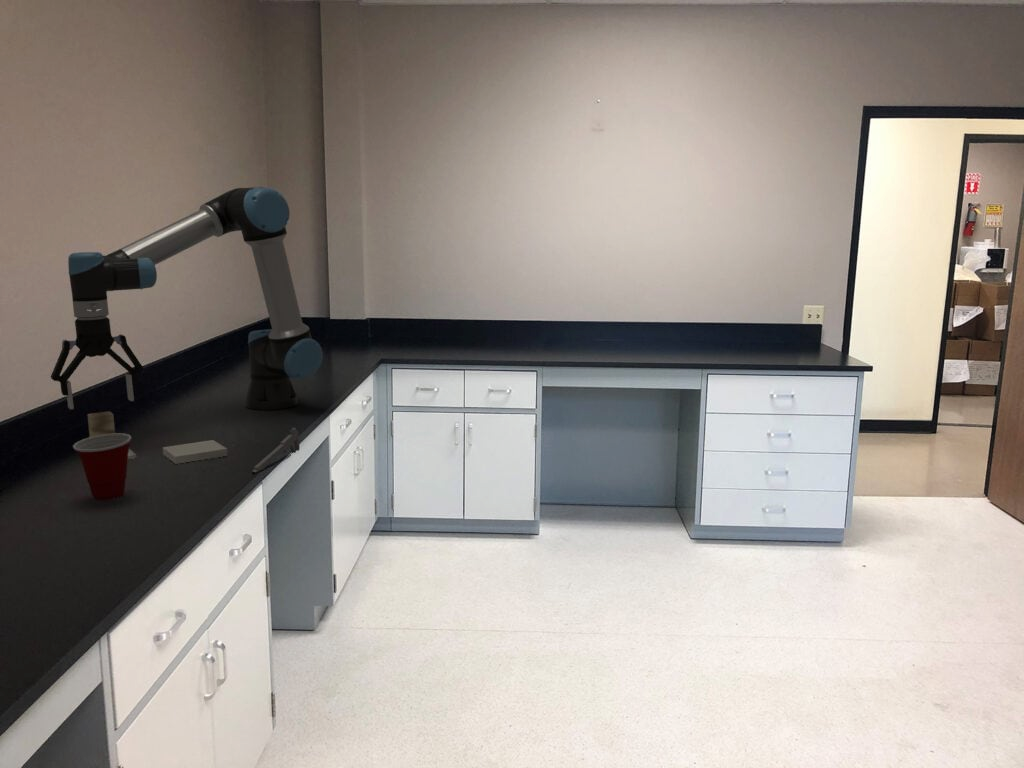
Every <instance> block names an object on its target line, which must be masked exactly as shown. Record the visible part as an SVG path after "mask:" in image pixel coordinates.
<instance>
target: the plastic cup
mask: <svg viewBox="0 0 1024 768" xmlns="http://www.w3.org/2000/svg"><path fill="white" fill-rule="evenodd" d="M131 440H132V436H131V435H130V434H127V433H119V432H118V433H117V432H115V433H112V434H103V435H98V436H93V437H89V436H88V437H86V438H83V439H81V440H78V441H77V442H74V444H73V445H72V448H73V449H74V451H76V452H77V454H78V456H79V459H80V461H81V463H82V467H83V471H84V474H85V476H86V480H87V483H88V485H89V486H88V487H89V490H90V492H91V496H92V498H93V499H94V500H96V501H109V500H108V499H111V500H114V499H113V498H115V499H118V498H117V497H119V498H120V496H121V497H123V496H124V493H125V487H126V479H127V471H128V470H127V469H128V461H129V460H128V453H129V449H130V443H131Z"/></svg>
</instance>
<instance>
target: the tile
mask: <svg viewBox="0 0 1024 768" xmlns="http://www.w3.org/2000/svg"><path fill="white" fill-rule="evenodd" d="M164 455H165V456H166V457H167V458H169V459H170V460H171V461H173V462H174V463H175V464H178V463H184V464H186V463H185V462H190V461H196V462H198V461H197V460H202V461H205V460H204V459H208V460H212V459H211V458H214V459H219V458H218V457H221V458H224V457H223V456H227V457H228V448H227V447H225V446H223V445H222V444H220V443H219V442H217V441H215V440H214V439H211V440H203V441H197V442H192V443H191V442H190V443H183V444H175V445H169V446H163V447H162V456H164ZM165 456H164V457H165ZM166 457H165V458H166ZM167 458H166V459H167ZM169 459H168V460H169ZM170 460H169V461H170ZM171 461H170V462H171ZM173 462H172V463H173ZM174 463H173V464H174ZM190 463H191V462H190ZM175 464H174V465H175ZM178 465H179V464H178Z"/></svg>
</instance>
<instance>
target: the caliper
mask: <svg viewBox="0 0 1024 768" xmlns="http://www.w3.org/2000/svg"><path fill="white" fill-rule="evenodd" d="M299 436H300V435H299V432H298V430H297V428H296V427H292V428H291V429H289V434H288V435H287V436H286V437H284V438H283V440H281V441H280V443H279V445H278V446H277V447H275V449H273V450H272V451H271V452H270V453H269V454H267V455H266V456H265V457H264V458H262V459H261V461H260V462H258V463H257V464H255V466H254V467H253V470H252V471H253V472H257V471H260V470H262V471H263V470H264V469H265V468H267V466H269V465H270V464H271V463H272V462H273V461H274V460H275V459H277V457H279V456H280V455H281V454H282V453H287V452H288V451H289V450H290V453H297V452H298V451H300V450H301V449H300V437H299ZM260 472H261V471H260ZM257 473H258V472H257Z"/></svg>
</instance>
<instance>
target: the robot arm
mask: <svg viewBox="0 0 1024 768" xmlns="http://www.w3.org/2000/svg"><path fill="white" fill-rule="evenodd" d="M290 214H291V213H290V208H289V205H288V201H287V200H286V198H285V197H284V196H283V195H282V194H281V193H279V191H278V190H275V189H273V188H271V187H264V186H257V187H256V186H254V187H253V186H252V187H237V188H233V189H231V190H228V191H226V192H224V193H222V194H220V195H218V196H217V197H214V198H212V199H211V200H209V201H207V202H205V203H203V204H201V205H200V206H199V209H198V210H197V211H195V212H193V213H191V214H189V215H187V216H185V217H183V218H181V219H179V220H177V221H174V222H171V224H168V225H166V226H165V227H162V228H161V229H158V230H155V231H154V232H151V233H150V234H147V235H146V236H144V237H142V238H139V239H137V240H135V241H134V242H132V243H129V244H127V245H125V246H123V247H121V248H119V249H117V250H115V251H112V252H111V253H108V254H106V255H103V254H102V253H101V252H99V251H97V252H96V251H88V252H86V251H85V252H73V253H70V254H69V256H68V264H67V265H68V275H69V282H70V283H69V284H70V290H71V298H72V306H73V307H72V308H73V317H75V318H76V319H75V320H74V327H75V334H76V335H75V337H76V338H75V340H67V339H63V340H62V341H61V342H62V344H61V351H60V354H59V356H58V358H57V361H56V363H55V366H54V367H53V370H52V372H51V375H50V379H52V381H54V382H59V383H60V384H59V385H60V392H61V394H62V395H63V396H64V397H65V396H66V399H67V408H68V409H69V410H74V409H75V407H74V398H73V390H72V383H71V381H70V380H69V379H70V378H71V376H72V375H73V374H74V372H75V371H76V370H77V368H78V367H79V366H80V365H81V363H82V362H83V361H84V360H85V359H86V357H89V358H95V357H97V356H98V357H104V356H105V355H109V357H111V358H112V359H113V360H114V361H115V362H116V363H118V365H120V366H121V367H123V369H125V370H126V371H127V372H128V373H125V382H126V392H127V399H128V401H130V402H134V401H135V399H134V398H135V397H134V387H137V385H138V383H137V382H138V381H137V373H138V372H142V371H143V370H144V366H143V365H142V363H141V362H140V360H139V359H138V358H137V356H136V355H135V354H134V351H133V350H132V349H131V347H130V346H129V345H128V341H127V338H126V337H127V336H125V335H123V334H121V333H120V334H119V335H116V336H112V331H111V330H112V329H111V320H110V318H109V317H108V316H109V314H110V313H109V304H108V294H107V293H108V292H116V291H131V290H143V289H149V288H150V289H151V288H153V287H154V286H155V285H156V282H157V280H158V279H157V276H158V275H157V273H158V271H157V267H156V265H158V264H160V263H162V262H163V261H166V260H167V259H170V258H172V257H175V256H176V255H178V254H179V253H182V252H184V251H186V250H187V249H190V248H192V247H194V246H195V245H198V244H199V243H202V242H204V241H206V240H207V239H210V238H212V237H213V236H214V237H216V238H219V237H222V236H224V235H225V234H228V233H232V232H241V234H242V239H243V241H244V243H245V244H246V245H249V246H250V247H251V250H252V254H253V257H254V263H255V266H256V270H257V275H258V279H259V283H260V286H261V290H262V294H263V297H264V303H265V307H266V310H267V314H268V318H269V323H270V326H271V328H270V329H259V330H252V331H250V332H249V333H248V336H247V337H248V340H247V346H248V359H249V361H248V362H249V374H250V381H249V385H248V389H247V391H246V392H247V393H246V396H245V398H244V399H245V400H244V401H245V407H246V408H248V409H252V410H261V411H263V410H265V411H269V410H271V411H272V410H273V411H274V410H281V409H288V408H291V407H295V406H297V405H298V395H297V393H296V390H295V387H294V384H293V382H292V379H306V378H309V377H312V376H313V375H314V374H316V372H317V371H318V370H319V368H320V366H321V365H322V362H323V357H324V356H323V355H324V354H323V349H322V346H321V344H319V342H318V341H316V340H315V339H313V338H312V334H311V331H310V330H311V329H310V327H309V326H308V325H307V324H305V322H304V323H303V319H302V315H301V311H300V307H299V302H298V299H297V293H296V290H295V287H294V286H295V285H294V282H293V278H292V277H293V276H292V273H291V269H290V264H289V261H288V256H287V253H286V249H285V243H284V239H285V237H286V235H287V234H288V233H287V232H288V231H287V229H286V226H287V225H288V221H289V220H290ZM114 342H115V343H116V344H118V345H119V346H120V347H121V349H122V350H123V351H124V353H125V354H126V356H127V358H128V359H129V360H130V362H131V364H132V365H133V367H132V366H131V365H130V364H129V363H128V362H127V361H125V360H124V359H123V358H122V357H121V356H120V355H118V354H117V352H115V351H114V350H113V349H112V346H113V344H114ZM75 346H76V348H78V349H79V350H78V351H77V353H76V355H75V357H74V358H73V359H72V361H70V363H69V364H68V366H67V367H66V368H65V370H64V371H63V369H64V366H65V363H66V362H67V360H68V359H67V358H68V356H69V355H70V351H71V350H73V349H74V347H75ZM62 371H63V372H62ZM291 378H292V379H291Z"/></svg>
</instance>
